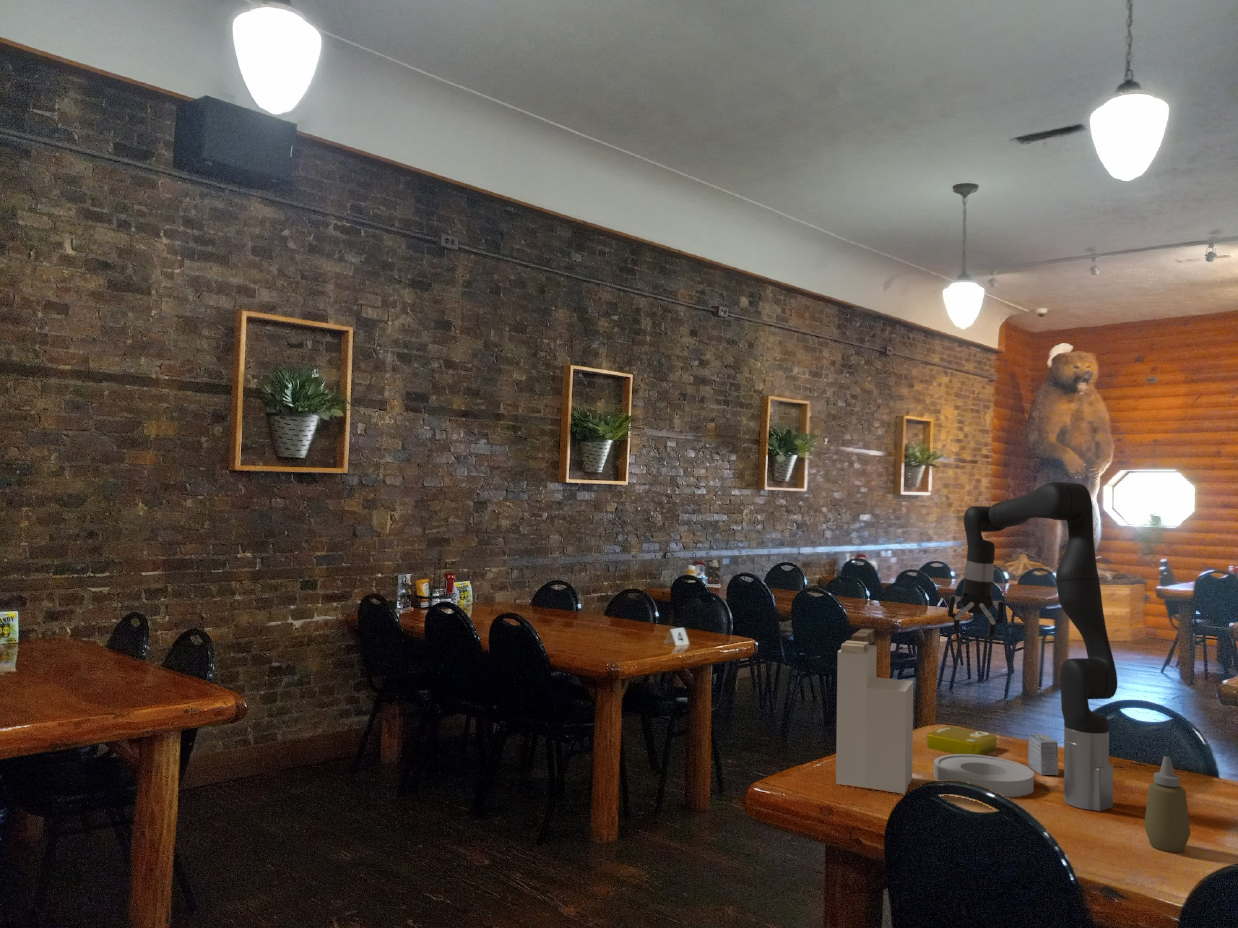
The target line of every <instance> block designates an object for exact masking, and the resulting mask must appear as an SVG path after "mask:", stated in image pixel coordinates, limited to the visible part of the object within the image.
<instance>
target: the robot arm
mask: <svg viewBox="0 0 1238 928" xmlns="http://www.w3.org/2000/svg"><path fill="white" fill-rule="evenodd" d="M1034 518H1035V519H1040V518H1041V519H1051V520H1055V521H1066V524H1067V532H1068V540H1067V545H1066V548H1065V551H1064V553H1063V555H1062V558H1061V559H1060V561H1059V564H1058V567H1057V569H1056V573H1055V581H1056V590H1057V597H1058V602H1059V605H1060V606H1061V608H1062V610H1063V612H1064V614H1066V616H1067V617H1068V619H1069V620H1070V621H1071V623H1072V624H1073V625H1074V626H1075V628H1076V629H1077V631H1078V632H1079V634H1080V636H1081V637H1082V640H1083V643H1084V646H1085V650H1086V654H1087V657H1085V658H1084V657H1083V658H1082V657H1081V658H1077V657H1074V658H1068V659H1066V660H1065V661H1063V663H1062V665H1061V668H1060V674H1059V675H1060V676H1059V685H1060V699H1061V700H1060V701H1061V706H1060V707H1061V712H1062V716H1063V722H1064V723H1063V726H1064V727H1063V729H1064V730H1063V731H1064V733H1063V757H1064V758H1063V763H1064V764H1063V786H1064V787H1063V794H1064V795H1063V800H1064V801H1063V802H1064V803H1066V805H1069V806H1071V807H1074V808H1078V809H1084V810H1089V811H1090V810H1091V811H1096V812H1102V811H1106V810H1109V809H1110V808H1111V809H1112V808H1113V807H1114V765H1112V764H1110V753H1109V752H1110V746H1109V745H1110V722H1109V719H1108V718H1107V717H1105V715H1102V714H1099V713H1097V712H1094V711H1092V710H1091V709H1090V705H1089V700H1109V699H1112V698H1113V697H1114V696H1115V695H1116V693H1117V691H1118V674H1117V669H1116V664H1115V660H1114V655H1113V653H1112V648H1111V644H1110V640H1109V636H1108V631H1107V627H1106V626H1107V625H1106V620H1105V614H1104V608H1103V599H1102V598H1103V597H1102V589H1101V583H1100V577H1099V573H1098V572H1099V571H1098V566H1097V557H1096V549H1095V539H1094V515H1093V501H1092V496H1091V493H1090V491H1089V489H1088V488H1087V487H1086V486H1085V485H1084V484H1081V483H1076V482H1061V481H1053V482H1049V483H1045V484H1042V486H1039V487H1038V488H1035V489H1034V490H1032V491H1030V492H1028V493H1026V494H1023V495H1021V496H1018V497H1015V498H1010V499H1006V500H1001V501H998V502H996V503H994V504H992V505H991V506H989V505H988V506H986V505H985V506H982V505H972V506H970V507H968V508H967V509H966V510H965V513H964V515H963V526H964V527H963V528H964V531H965V536H966V537H965V538H966V543H967V552H966V561H965V566H964V572H963V575H964V576H963V587H962V593H961V596H958V595H955V594H951V595H950V597H949V604H948V610H947V616H948V617H949V618H952V619H953V626H952V627H953V631H954V632H955V633H956V634H959V631H960V622H961V621H960V619H961V618H962V617H963V616H964V615H965V614H966V613H968V614H971V615H972V614H977V615H979V616H982V615H985V617H986V618H987V620H988V621H989V623H988V631H987V633H988V634H987V637H988V638H989V639H991V638H992V637H994V636H995V631H996V625H998V624H1003V623H1004V602H1003V601H1002V600H993V599H992V595H993V586H994V574H995V573H994V572H995V567H994V566H995V565H994V563H995V552H996V551H995V550H996V546H995V543H994V542H992V541H990V540H987V539H984V537H983V534H982V533H983V532H984V533H985V532H986V533H995V532H1001V531H1003V530H1005V529H1007V528H1011V527H1016V526H1020V525H1023V524H1025V523H1026V522H1028V521H1029V520H1030V519H1034ZM958 602H960V603H961V605H962V607H961V608H960V609H959V610H958V611H957V612H956V613H955V612H954V608H955V605H957V604H958ZM992 606H994V607H995V610H997V617H995V618H994V617H993V615H992V613H991V612H990V610H989V609H990V608H991V607H992Z"/></svg>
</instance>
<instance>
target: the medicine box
mask: <svg viewBox="0 0 1238 928" xmlns="http://www.w3.org/2000/svg"><path fill="white" fill-rule="evenodd" d="M1027 737H1028V738H1027V744H1028V746H1027V747H1028V749H1027V750H1028V752H1027V753H1028V756H1027V757H1028V758H1027V759H1028V760H1027V761H1028V764H1027V767H1029V768H1030V769H1032V770H1033V772H1036V773H1038V774H1039V775H1041V776H1044V775H1057V776H1059V751H1058V750H1059V749H1058V744H1059V743H1058V741H1057V740H1055V739H1054V738H1051V737H1049V736H1047V735H1045V734H1040V733H1037V734H1036V733H1033V734H1032V733H1030V734H1028V736H1027Z"/></svg>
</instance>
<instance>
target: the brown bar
mask: <svg viewBox="0 0 1238 928" xmlns="http://www.w3.org/2000/svg"><path fill="white" fill-rule="evenodd" d="M850 638H851V639H850V640H846V641H845V642H843V643H841V645H840V649H841V652H845V653H857V654H864V653H865V652H866V651H867V650H868V646H869V645H872V643H874V642H875V628H874V629H873V628H861V629H859V630H858V631H856V632H855V633H853V634H852V635H851V636H850Z"/></svg>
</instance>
